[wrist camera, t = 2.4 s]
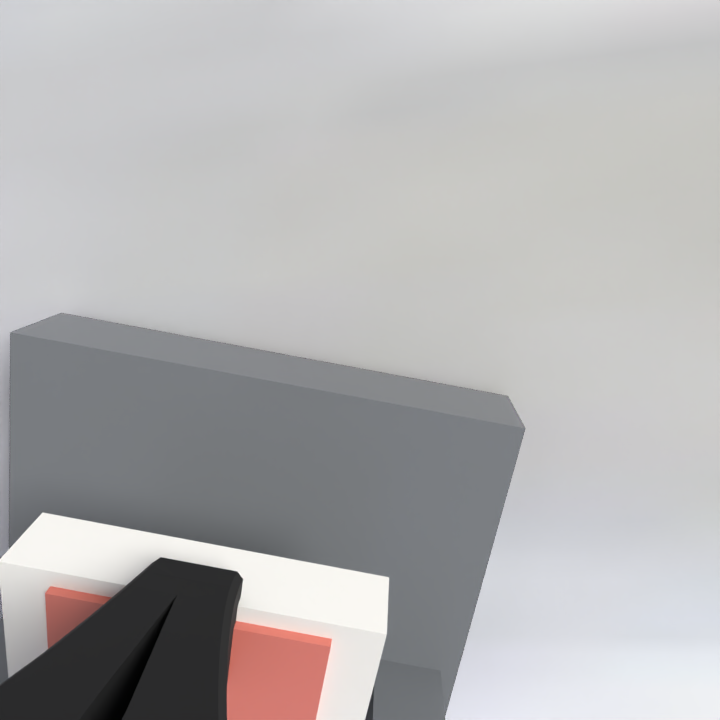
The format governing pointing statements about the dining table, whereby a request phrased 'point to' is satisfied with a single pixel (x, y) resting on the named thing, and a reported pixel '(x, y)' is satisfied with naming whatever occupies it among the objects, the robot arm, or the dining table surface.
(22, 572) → the block
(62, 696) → the robot arm
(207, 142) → the dining table surface
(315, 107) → the dining table surface
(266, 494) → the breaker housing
